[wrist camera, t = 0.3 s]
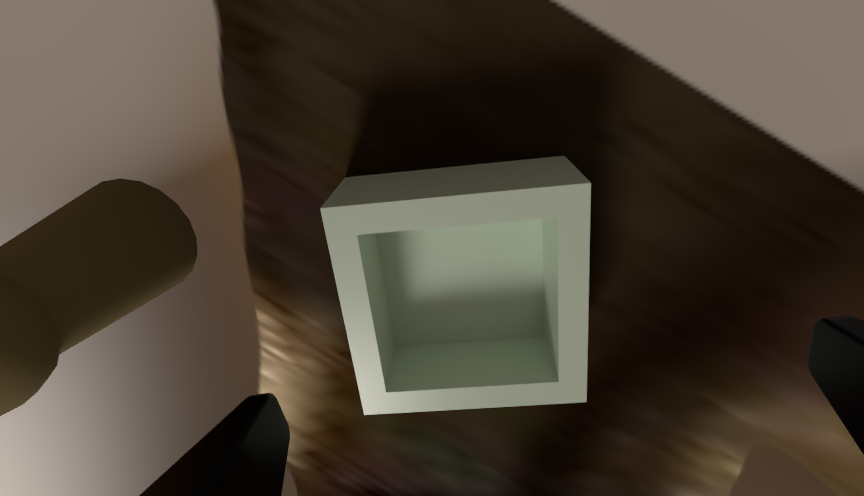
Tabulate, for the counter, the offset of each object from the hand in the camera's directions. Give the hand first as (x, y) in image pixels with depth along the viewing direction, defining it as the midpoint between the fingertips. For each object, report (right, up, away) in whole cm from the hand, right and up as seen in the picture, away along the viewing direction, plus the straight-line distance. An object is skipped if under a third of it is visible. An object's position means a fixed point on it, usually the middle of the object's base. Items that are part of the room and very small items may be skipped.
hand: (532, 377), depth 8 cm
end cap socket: (0, +1, +16) cm, 16 cm away
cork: (-16, +3, +16) cm, 23 cm away
